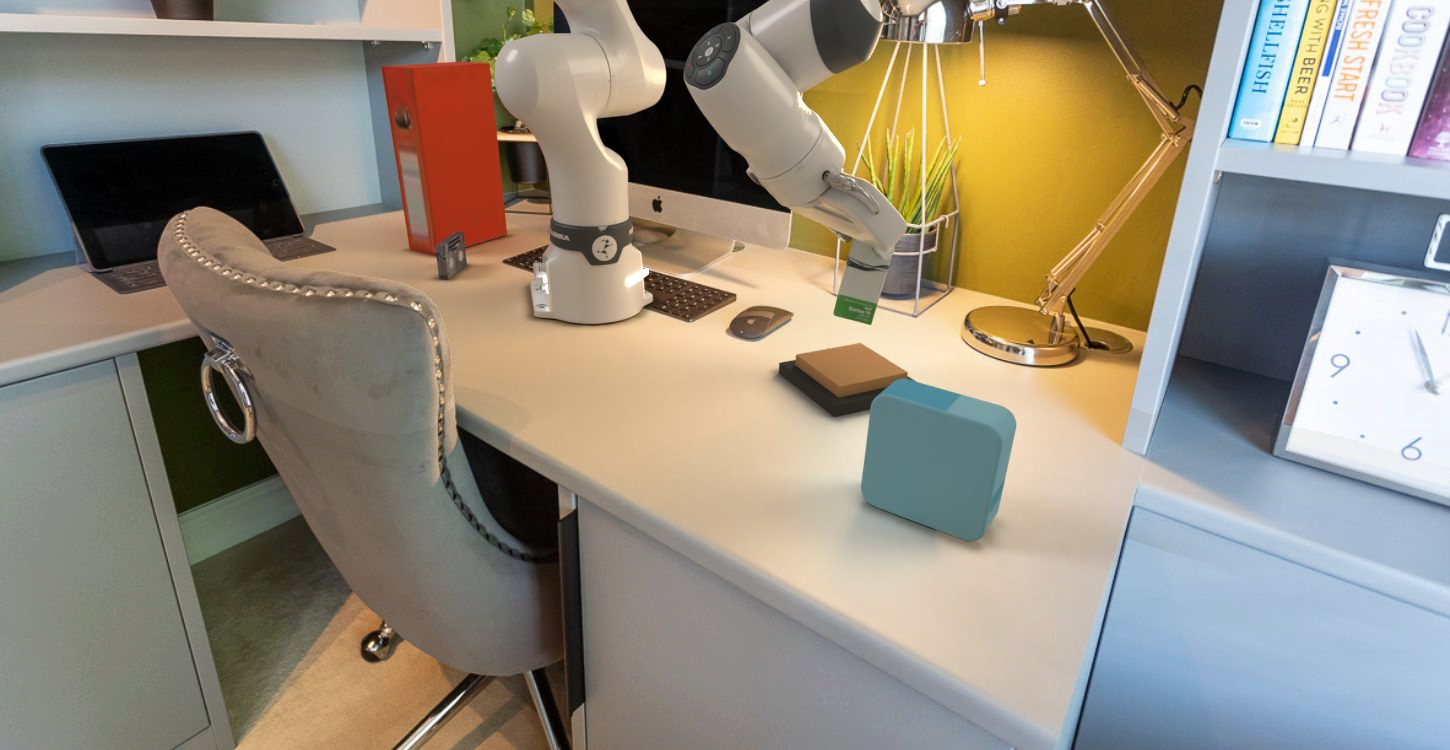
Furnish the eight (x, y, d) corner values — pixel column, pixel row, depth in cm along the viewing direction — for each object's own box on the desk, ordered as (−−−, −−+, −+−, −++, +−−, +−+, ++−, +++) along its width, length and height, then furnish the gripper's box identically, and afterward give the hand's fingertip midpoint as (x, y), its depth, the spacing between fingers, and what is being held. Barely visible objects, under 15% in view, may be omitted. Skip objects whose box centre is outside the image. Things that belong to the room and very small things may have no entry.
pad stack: (778, 373, 102) (779, 351, 100) (860, 357, 107) (863, 336, 106) (834, 417, 91) (836, 394, 90) (922, 397, 96) (925, 375, 95)
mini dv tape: (458, 264, 138) (454, 231, 136) (466, 265, 138) (463, 231, 136) (439, 279, 131) (434, 244, 129) (448, 279, 131) (443, 244, 128)
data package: (996, 523, 73) (1020, 409, 68) (980, 547, 70) (1005, 430, 65) (877, 480, 79) (891, 373, 74) (858, 501, 76) (871, 390, 71)
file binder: (408, 249, 146) (380, 65, 132) (478, 229, 159) (459, 60, 146) (439, 256, 142) (413, 68, 129) (507, 235, 156) (491, 63, 142)
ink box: (871, 327, 92) (901, 228, 88) (831, 316, 93) (858, 218, 88) (874, 309, 100) (901, 218, 96) (837, 299, 101) (862, 208, 96)
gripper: (880, 159, 75) (944, 248, 83) (774, 129, 91) (837, 205, 99) (837, 209, 75) (906, 293, 83) (739, 170, 91) (804, 243, 100)
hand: (867, 245), depth 91 cm, fingers closed on ink box, 6 cm apart
